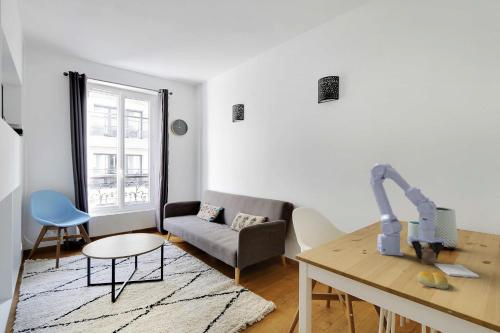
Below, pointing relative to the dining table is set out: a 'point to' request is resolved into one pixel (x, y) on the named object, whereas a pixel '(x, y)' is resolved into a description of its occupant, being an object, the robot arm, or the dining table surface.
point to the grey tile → (456, 270)
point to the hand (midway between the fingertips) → (426, 258)
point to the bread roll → (433, 279)
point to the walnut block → (427, 256)
